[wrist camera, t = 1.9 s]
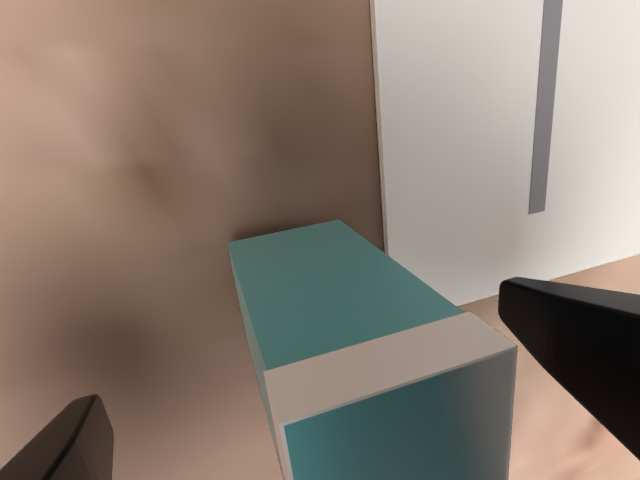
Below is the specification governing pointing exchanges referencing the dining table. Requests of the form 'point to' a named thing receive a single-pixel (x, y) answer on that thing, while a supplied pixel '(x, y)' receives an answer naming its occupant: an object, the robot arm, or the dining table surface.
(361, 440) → the teal banded box
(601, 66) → the paper
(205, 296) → the dining table surface
